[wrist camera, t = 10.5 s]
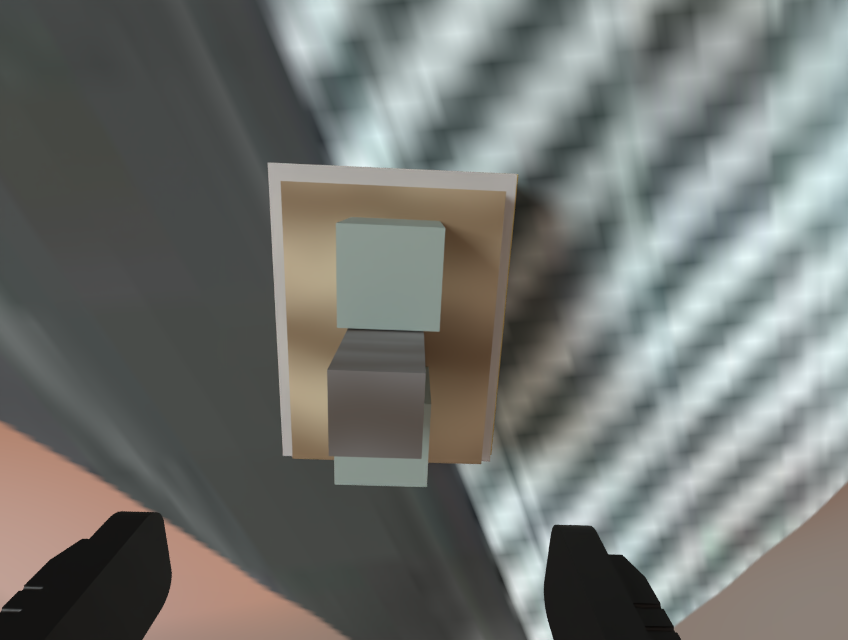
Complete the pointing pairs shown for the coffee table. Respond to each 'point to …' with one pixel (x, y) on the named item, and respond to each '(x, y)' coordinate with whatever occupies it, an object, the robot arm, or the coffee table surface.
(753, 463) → the coffee table surface
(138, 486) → the coffee table surface
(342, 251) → the block
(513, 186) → the block
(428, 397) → the block
